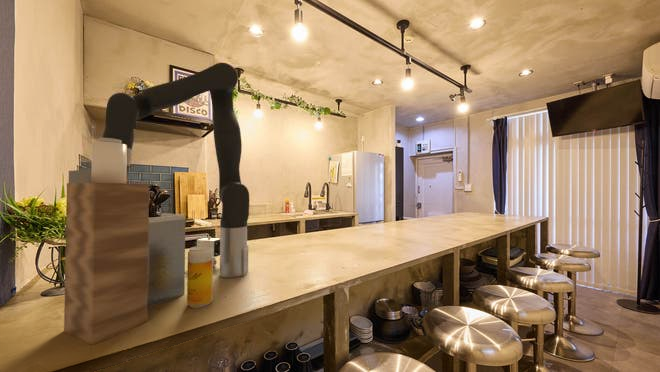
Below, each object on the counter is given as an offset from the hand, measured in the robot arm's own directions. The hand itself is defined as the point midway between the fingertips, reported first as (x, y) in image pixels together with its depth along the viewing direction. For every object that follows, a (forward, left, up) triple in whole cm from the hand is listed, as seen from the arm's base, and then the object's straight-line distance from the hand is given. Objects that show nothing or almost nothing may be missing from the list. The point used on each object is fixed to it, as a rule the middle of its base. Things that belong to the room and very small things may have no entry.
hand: (102, 217), depth 72 cm
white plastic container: (-9, +14, +9) cm, 19 cm away
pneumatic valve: (-20, -27, -23) cm, 41 cm away
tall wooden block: (-14, +17, -23) cm, 31 cm away
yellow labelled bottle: (-30, +7, -23) cm, 38 cm away
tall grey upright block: (-16, +2, -23) cm, 28 cm away
